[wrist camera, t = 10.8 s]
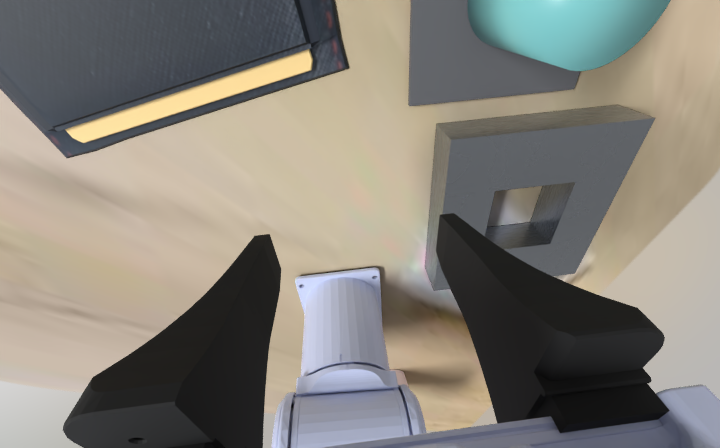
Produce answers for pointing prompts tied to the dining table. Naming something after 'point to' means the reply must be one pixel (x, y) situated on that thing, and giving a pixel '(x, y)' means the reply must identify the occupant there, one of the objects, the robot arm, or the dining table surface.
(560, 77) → the mat
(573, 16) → the end cap
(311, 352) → the robot arm
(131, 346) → the dining table surface
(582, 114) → the housing
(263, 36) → the grey book
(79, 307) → the dining table surface
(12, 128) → the dining table surface
